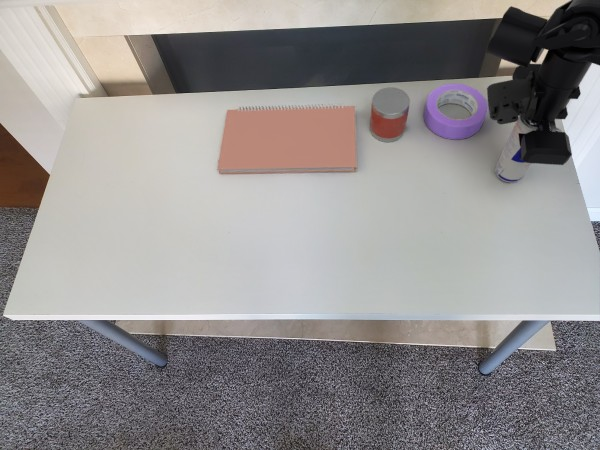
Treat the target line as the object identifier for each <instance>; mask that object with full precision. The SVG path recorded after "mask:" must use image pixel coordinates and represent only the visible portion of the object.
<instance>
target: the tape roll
mask: <svg viewBox="0 0 600 450" xmlns="http://www.w3.org/2000/svg"><path fill="white" fill-rule="evenodd" d="M448 104H452V105H453V104H455V105H459V106H462V107H463V108H465V109H466V110H468V111H469V113H470V114H471V115H470V116H468V117H465V118H452V117H449V116H447V115H445V114H444V113H442V112H441V111H440V108H439V107H441V106H443V105H448ZM488 110H489V106H488V101H487V100H486V98H485V97H484V95H483V94H482V93H481V92H480V91H479V90H477V89H475V88H474V87H472V86H470V85H467V84H463V83H446V84H442V85H440V86H438V87H436V88H434V89H433V90H432V91H431V92H430V93H429V94H428V96H427V98H426V102H425V107H424V111H423V121H424V123H425V125H426V127H427V128H428V129H429V130H430V131H431V132H432V133H434V135H437V136H438V137H441V138H444V139H449V140H464V139H468V138H470V137H473V136H474V135H476V133H477V134H478V132H479V131H480V129H481V127H482V125H483V123H484V121H485V118H486V116H487V113H488Z"/></svg>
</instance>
